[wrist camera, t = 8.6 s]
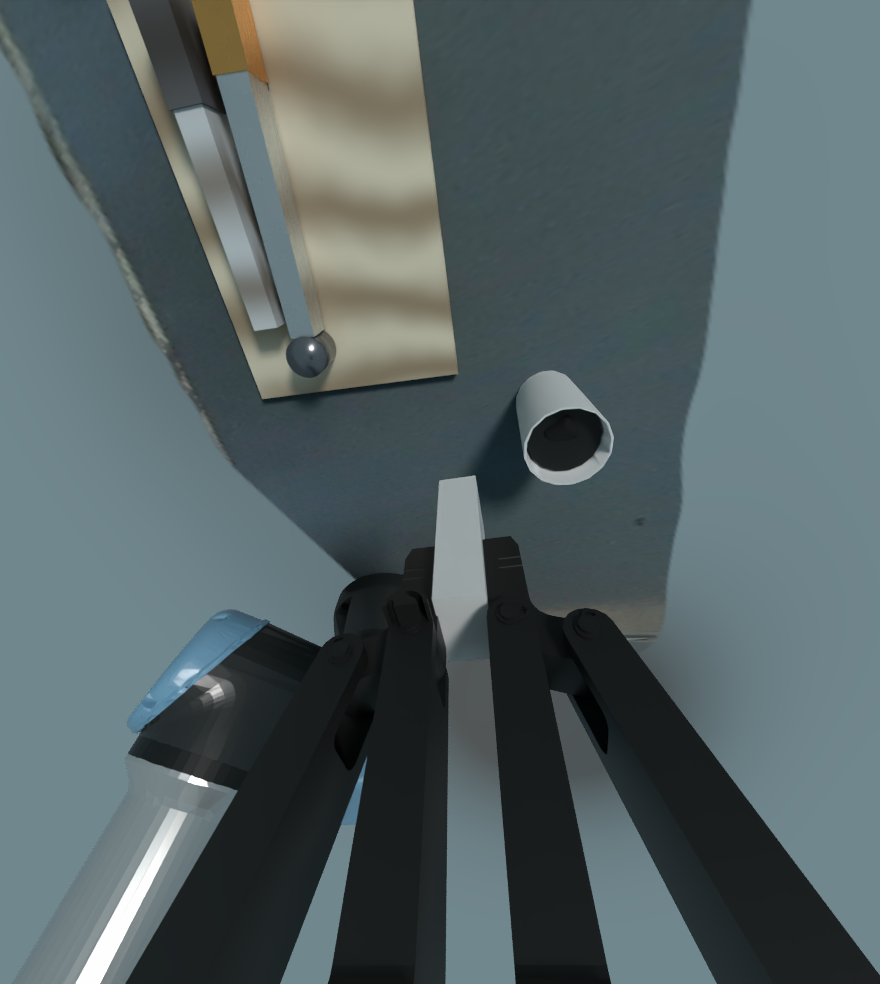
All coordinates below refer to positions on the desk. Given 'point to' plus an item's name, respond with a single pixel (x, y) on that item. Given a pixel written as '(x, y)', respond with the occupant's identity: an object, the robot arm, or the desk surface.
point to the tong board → (313, 181)
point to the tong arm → (265, 174)
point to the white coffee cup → (561, 430)
